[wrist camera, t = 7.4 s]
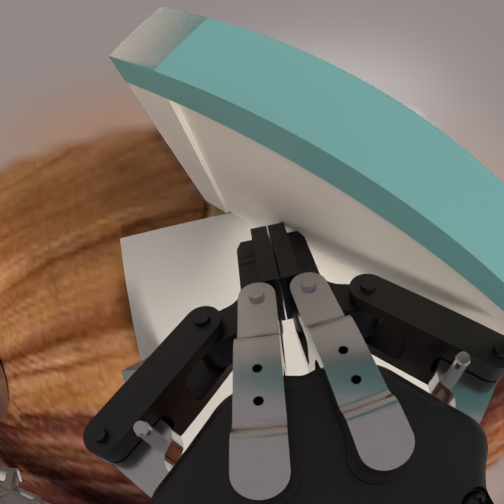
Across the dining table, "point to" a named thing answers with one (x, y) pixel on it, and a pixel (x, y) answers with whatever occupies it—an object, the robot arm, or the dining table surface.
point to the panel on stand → (196, 291)
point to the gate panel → (322, 159)
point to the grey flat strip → (15, 489)
